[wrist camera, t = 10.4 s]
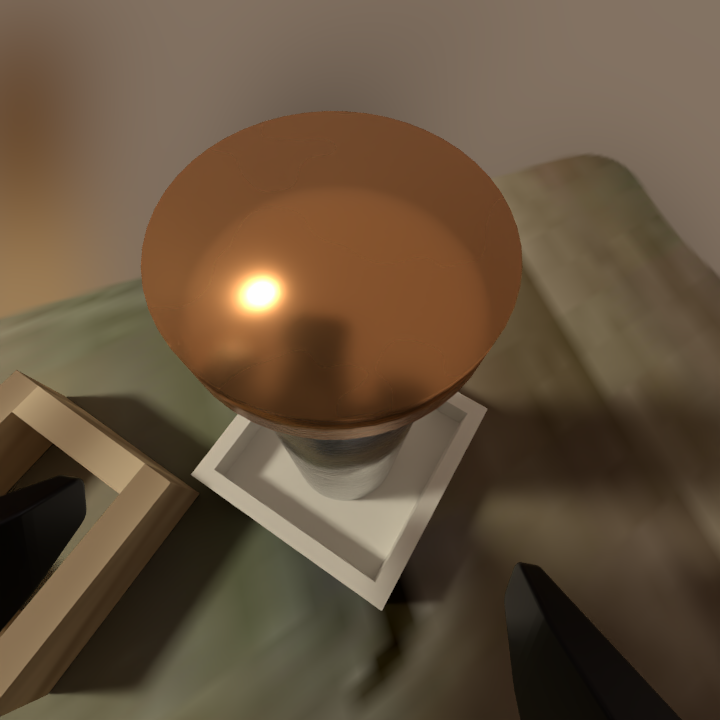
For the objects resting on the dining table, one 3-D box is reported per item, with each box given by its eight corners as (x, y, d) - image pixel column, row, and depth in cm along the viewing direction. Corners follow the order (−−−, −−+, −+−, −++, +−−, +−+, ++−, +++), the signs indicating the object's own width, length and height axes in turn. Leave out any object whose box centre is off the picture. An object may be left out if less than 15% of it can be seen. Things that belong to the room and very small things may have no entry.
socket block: (199, 493, 17) (171, 482, 15) (47, 694, 15) (-23, 727, 12) (65, 396, 19) (16, 369, 16) (-95, 560, 16) (-186, 562, 13)
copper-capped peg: (425, 487, 17) (597, 340, 5) (304, 533, 16) (178, 483, 4) (380, 378, 19) (430, 84, 7) (270, 414, 18) (117, 152, 6)
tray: (474, 422, 19) (487, 408, 17) (378, 604, 16) (381, 611, 14) (320, 333, 20) (317, 312, 19) (207, 483, 18) (190, 474, 16)
